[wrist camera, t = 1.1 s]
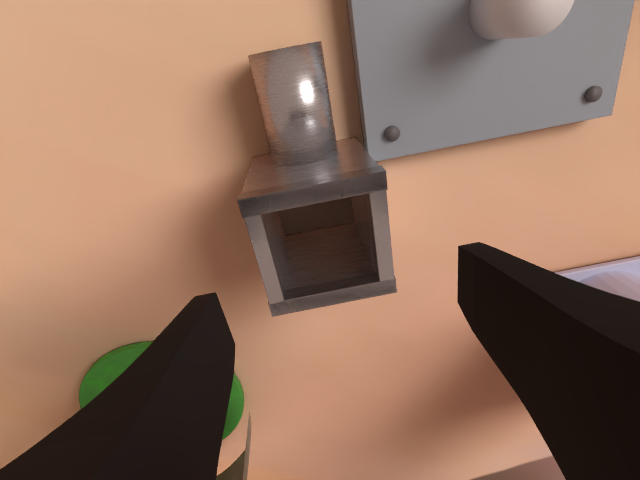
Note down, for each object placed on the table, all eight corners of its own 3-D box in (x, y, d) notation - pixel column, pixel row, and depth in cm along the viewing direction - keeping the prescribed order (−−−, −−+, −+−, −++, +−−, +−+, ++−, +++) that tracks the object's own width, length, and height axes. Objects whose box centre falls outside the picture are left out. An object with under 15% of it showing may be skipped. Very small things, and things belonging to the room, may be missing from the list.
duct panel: (596, 112, 18) (669, 126, 15) (365, 157, 18) (384, 182, 15) (650, -196, 13) (782, -286, 10) (331, -133, 13) (348, -200, 10)
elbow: (367, 230, 20) (396, 292, 15) (275, 248, 20) (272, 316, 15) (343, 37, 16) (373, 29, 11) (225, 60, 16) (196, 64, 11)
